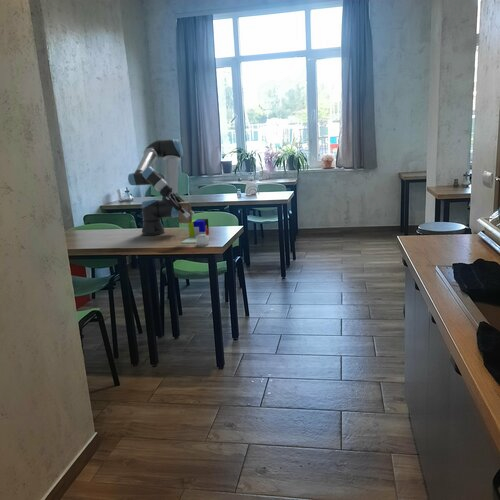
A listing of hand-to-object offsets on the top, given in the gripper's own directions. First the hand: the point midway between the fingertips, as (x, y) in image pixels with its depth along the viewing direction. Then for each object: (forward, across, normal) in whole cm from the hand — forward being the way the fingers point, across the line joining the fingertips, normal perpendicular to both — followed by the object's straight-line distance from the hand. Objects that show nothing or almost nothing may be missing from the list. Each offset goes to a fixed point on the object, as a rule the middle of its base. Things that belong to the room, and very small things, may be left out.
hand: (190, 215), depth 277 cm
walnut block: (0, 0, -5) cm, 5 cm away
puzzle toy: (+9, -20, -14) cm, 26 cm away
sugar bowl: (+18, +6, -5) cm, 20 cm away
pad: (+12, -4, -11) cm, 17 cm away
